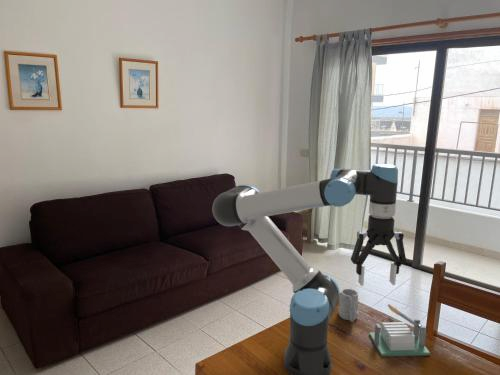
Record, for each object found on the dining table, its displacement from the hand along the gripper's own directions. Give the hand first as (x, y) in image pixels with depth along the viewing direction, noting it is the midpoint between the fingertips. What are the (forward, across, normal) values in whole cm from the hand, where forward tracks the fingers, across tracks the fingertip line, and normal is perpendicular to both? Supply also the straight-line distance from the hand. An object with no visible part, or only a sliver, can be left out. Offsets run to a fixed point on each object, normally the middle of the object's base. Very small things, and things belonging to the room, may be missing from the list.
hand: (376, 283), depth 121 cm
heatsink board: (+26, +11, +5) cm, 28 cm away
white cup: (+26, -1, +22) cm, 34 cm away
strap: (+16, +12, +5) cm, 21 cm away
